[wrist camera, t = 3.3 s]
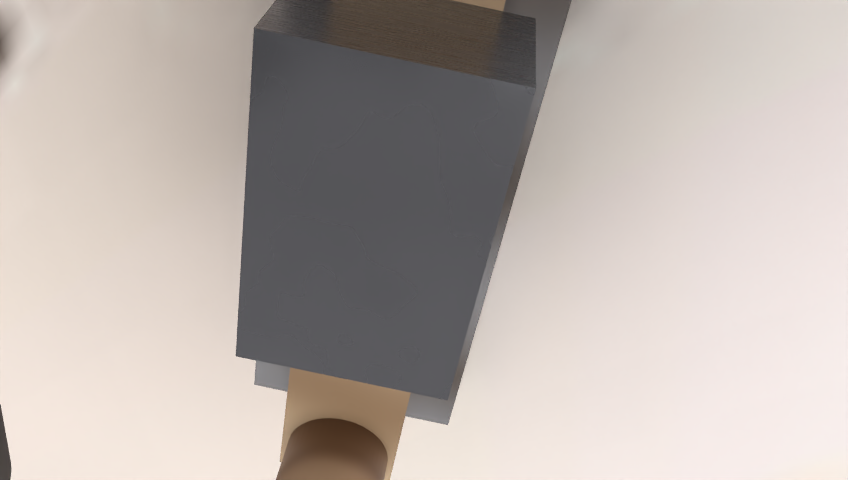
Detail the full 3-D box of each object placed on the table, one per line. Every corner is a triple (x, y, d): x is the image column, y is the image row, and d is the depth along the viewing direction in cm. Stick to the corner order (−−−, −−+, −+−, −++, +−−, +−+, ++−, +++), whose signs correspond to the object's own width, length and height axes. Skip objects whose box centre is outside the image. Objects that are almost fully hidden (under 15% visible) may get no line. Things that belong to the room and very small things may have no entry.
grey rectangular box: (301, -32, 17) (253, 27, 14) (535, 18, 17) (536, 88, 14) (275, 265, 21) (235, 356, 19) (459, 304, 22) (447, 400, 19)
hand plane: (334, -387, 17) (215, -422, 11) (651, -318, 17) (721, -311, 11) (268, 357, 31) (196, 542, 24) (449, 395, 31) (426, 590, 24)
